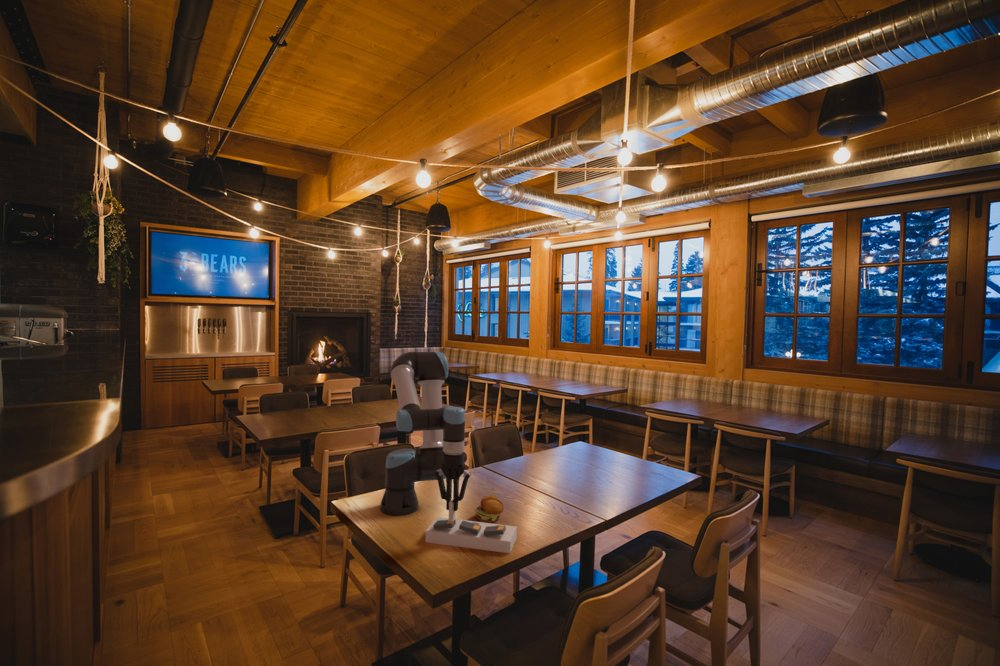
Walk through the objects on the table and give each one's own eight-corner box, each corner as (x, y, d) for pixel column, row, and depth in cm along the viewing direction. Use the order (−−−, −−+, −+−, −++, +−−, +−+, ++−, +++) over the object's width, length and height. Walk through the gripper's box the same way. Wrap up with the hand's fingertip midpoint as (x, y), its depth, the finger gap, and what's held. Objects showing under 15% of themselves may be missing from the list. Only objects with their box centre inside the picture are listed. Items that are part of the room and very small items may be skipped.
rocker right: (484, 535, 160) (483, 531, 160) (486, 530, 164) (486, 526, 164) (503, 534, 159) (502, 530, 159) (505, 529, 163) (505, 525, 163)
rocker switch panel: (425, 542, 164) (425, 530, 164) (437, 527, 175) (437, 516, 175) (510, 553, 157) (510, 541, 157) (516, 537, 169) (516, 526, 169)
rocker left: (433, 529, 164) (433, 524, 164) (437, 524, 168) (437, 520, 168) (452, 528, 162) (451, 523, 163) (455, 523, 166) (455, 519, 166)
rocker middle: (458, 529, 162) (459, 524, 162) (462, 524, 166) (463, 520, 166) (477, 534, 161) (478, 530, 161) (480, 529, 165) (481, 525, 164)
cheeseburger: (485, 510, 192) (491, 488, 191) (505, 523, 186) (511, 501, 184) (468, 517, 185) (474, 494, 183) (488, 532, 178) (494, 508, 176)
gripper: (431, 453, 162) (430, 521, 162) (468, 456, 159) (466, 526, 159) (439, 447, 169) (437, 513, 169) (474, 450, 166) (472, 517, 167)
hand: (451, 519), depth 164 cm, fingers closed
